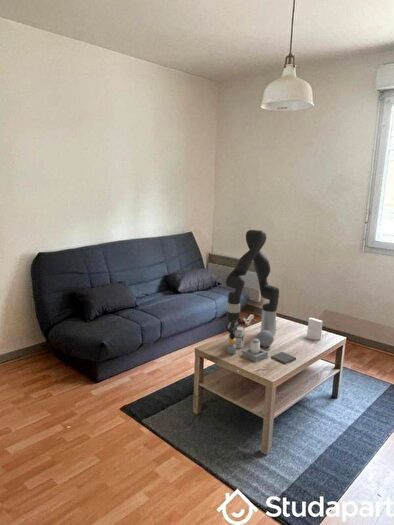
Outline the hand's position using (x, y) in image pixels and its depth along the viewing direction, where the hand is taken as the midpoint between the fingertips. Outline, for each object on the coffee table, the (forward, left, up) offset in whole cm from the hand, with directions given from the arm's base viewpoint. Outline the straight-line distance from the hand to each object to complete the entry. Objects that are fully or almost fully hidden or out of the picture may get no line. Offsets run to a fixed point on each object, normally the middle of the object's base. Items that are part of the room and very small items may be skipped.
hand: (232, 338), depth 225 cm
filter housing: (-5, +7, -9) cm, 13 cm away
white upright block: (-62, +15, -9) cm, 64 cm away
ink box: (-10, -6, -9) cm, 15 cm away
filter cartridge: (-8, +11, -9) cm, 16 cm away
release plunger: (0, 0, -3) cm, 3 cm away
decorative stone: (-24, +5, -9) cm, 26 cm away
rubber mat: (-19, +23, -9) cm, 31 cm away
